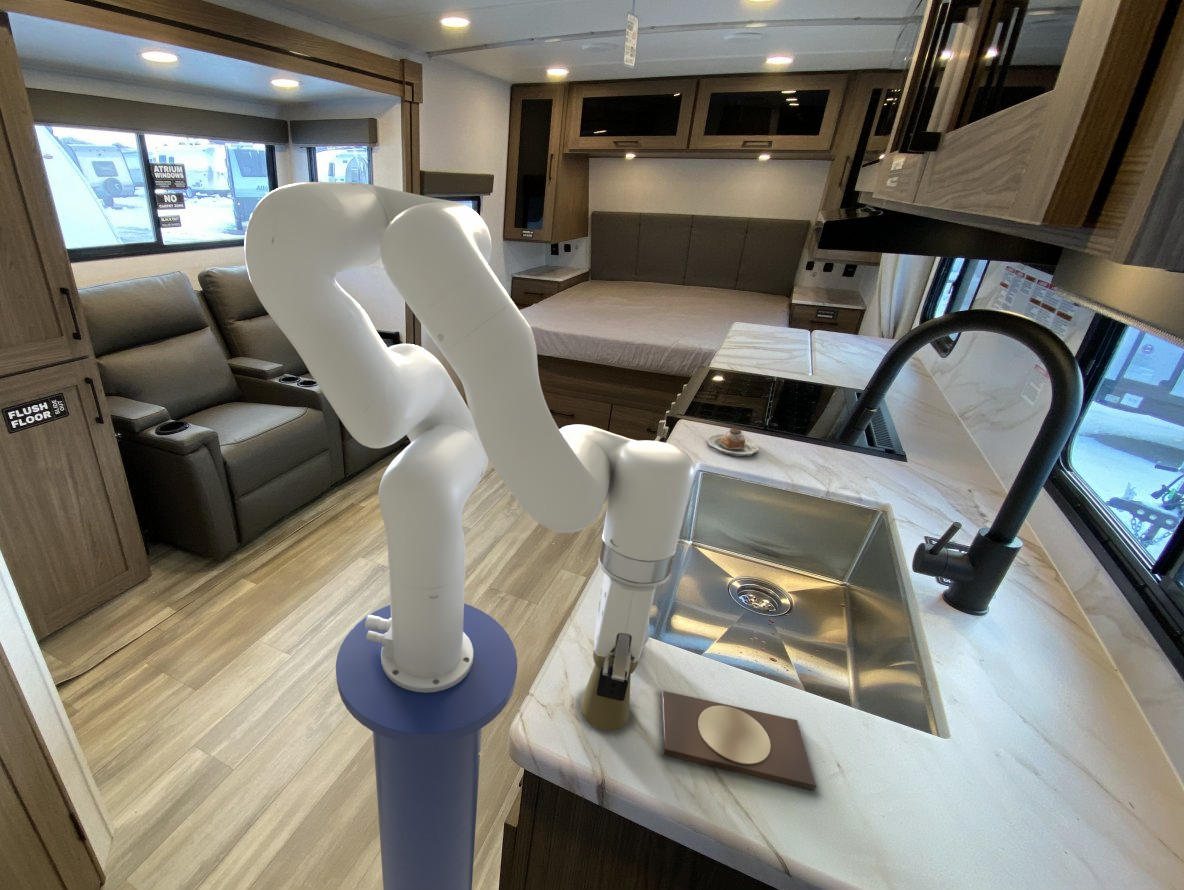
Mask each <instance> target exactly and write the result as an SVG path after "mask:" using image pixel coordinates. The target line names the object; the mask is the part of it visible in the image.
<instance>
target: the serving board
mask: <svg viewBox="0 0 1184 890" xmlns="http://www.w3.org/2000/svg"><path fill="white" fill-rule="evenodd" d="M660 700H661V701H660V702H661V725H662V727H661V728H662V748H663V749H662V753H663V755H664V756H667V757H671V758H676V759H680V760H683V761H684V760H685V761H688V762H692V763H695V764H696V763H697V764H700V765H705V766H707V767H708V766H709V767H713V768H716V769H721V770H725V771H730V772H733V773H736V774H737V773H738V774H741V775H745V776H750V777H754V778H758V779H762V780H766V781H770V782H774V783H778V784H782V785H787V786H790V787H794V788H799V789H802V790H807V791H812V792H815V790H816V788H817V786H818V785H817V782H816V778H815V776H814V772H813V769H812V765H811V761H810V758H809V756H808V751H807V748H806V745H805V742H804V739H803V735H802V731H801V728H800V724H799V720H798V719H793V718H789V717H786V716H780V715H776V714H772V713H767V712H762V711H758V710H754V709H749V708H744V707H739V706H736V705H730V704H726V703H722V702H716V701H711V700H708V699H704V698H700V697H699V698H698V697H696V696H695V697H693V696H689V695H684V694H680V693H677V692H671V691H667V690H662V691H661V695H660Z"/></svg>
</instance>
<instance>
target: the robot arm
mask: <svg viewBox="0 0 1184 890" xmlns="http://www.w3.org/2000/svg"><path fill="white" fill-rule="evenodd" d="M244 237H245V238H244V258H245V266H246V270H247V274H248V277H249V280H250V283H251V286H252V289H253V290H254V292H255V294H256V296H257V298H258V300H259V302H260V303H261V304H262V306H263V308H264V309H265V311H266V312H267V313H268V315H269V316H270V318H271V319H272V320H273V322H274V323H275V324H276V325H277V327H278V328H279V330H280V331H281V332H282V333H283V335H284V336H285V337H286V338H287V340H288V341H289V343H290V344H291V345H292V346H293V348H294V349H295V350H296V352H297V353H298V355H299V357H300V358H301V360H302V361H303V364H304V365H305V367H306V368H307V370H308V372H309V373H310V375H311V377H312V378H313V379H314V381H315V382H316V384H317V386H318V388H319V389H320V390H321V392H322V394H323V395H324V396H325V398H326V400H327V402H328V403H329V404H330V406H331V407H332V409H333V410H334V412H335V414H336V415H337V416H338V419H339V420H340V421H341V423H342V425H343V426H344V427H345V429H346V431H348V433H349V434H350V436H351V437H352V438H353V439H354V440H355V441H356V442H358V443H359V444H361V445H362V446H364V447H367V448H370V449H384V448H386V447H389V446H391V445H394V444H395V443H397V442H399V441H400V440H401V439H403V438H405V436H406V437H407V438H408V439H409V441H410V443H409V444H408V445H407V446H406V447H404V449H403V450H402V451H401V452H400V453H399V454H397V456H396V457H395V458H394V459H393V460H392V461H391V462H390V464H389V465H388V467H387V468H386V469H385V471H384V473H383V474H382V477H381V480H380V483H379V486H378V487H379V488H378V495H377V496H378V505H379V510H380V514H381V517H382V521H383V525H384V529H385V535H386V545H387V560H388V561H387V564H388V565H387V566H388V578H389V579H388V580H389V581H388V583H389V605H390V608H391V618H389V620H387V619H383V618H381V617H377V616H373V615H370V614H368V615H366V616H367V618H366V622H365V628H366V629H371V630H375V631H378V630H379V631H384V632H386V633H385V634H380V633H378V632H374V631H368V633H367V636H366V640H367V641H371V642H378V643H382V649H381V664H382V667H383V670H384V672H385V674H386V675H387V677H388V678H389V679H390V680H391V681H392V682H394V683H395V684H397V685H398V686H400V687H402V688H404V689H407V690H410V691H415V692H424V693H428V692H437V691H442V690H445V689H448V688H450V687H452V686H454V685H456V684H457V683H459V682H460V681H461V680H462V679H464V678H465V677H466V675H467V674H468V673H469V671H470V669H471V667H472V664H473V646H472V643H471V641H470V639H469V638H468V637H467V635H466V634H465V633H464V632H463V617H464V604H465V589H466V588H465V587H466V585H465V584H466V582H465V581H466V539H465V534H464V529H463V525H462V523H463V522H462V517H463V511H464V508H465V505H466V504H467V502H468V500H469V499H470V497H472V494H473V492H474V490H475V489H476V488H477V486H478V485H479V483H480V482H481V480H482V478H483V477H484V475H485V473H486V471H487V469H488V467H489V462H490V464H491V466H492V468H493V469H494V471H495V473H497V475H498V477H499V478H500V479H501V481H502V482H503V484H504V485H505V486H506V488H507V489H508V491H509V492H510V493H511V494H512V496H513V497H514V499H515V500H516V502H517V503H518V504H519V505H520V507H521V508H522V509H523V510H524V512H525V513H526V514H527V515H528V516H530V517H531V518H532V520H534V521H535V522H536V523H538V524H539V525H540V526H542V527H543V528H546V529H548V530H550V531H553V532H556V533H561V534H571V533H577V532H580V531H583V530H585V529H586V528H588V527H590V526H591V525H592V524H593V523H594V522H595V521H596V520H597V519H598V518H599V516H600V514H601V513H602V511H603V508H604V505H605V502H607V504H606V511H605V512H606V513H605V518H604V524H603V530H602V536H601V543H600V547H599V555H598V559H597V561H598V565H599V568H600V569H601V571H602V572H603V573H604V574H603V579H602V584H601V589H600V594H599V595H600V596H599V600H598V604H597V611H596V619H595V620H596V621H595V630H594V641H593V651H595V653H596V654H597V655H598V656H603V657H605V661H604V667H603V668H602V667H601V669H600V674H599V680H598V685H597V691H596V694H597V695H598V696H601V697H605V698H610V699H614V700H619V701H623V700H624V699H625V694H626V690H627V685H628V681H629V670H630V664H631V661H632V662H633V663H635V662H637V661H638V662H639V660H640V658H641V656H642V655H641V654H642V650H643V648H644V646H643V644H644V640H645V635H646V631H647V627H648V622H649V623H650V618H651V613H652V608H653V604H654V600H655V594H656V589H657V587H658V586H661V585H663V584H665V583H666V582H667V581H668V580H669V578H670V576H671V573H672V568H673V563H674V561H675V556H676V551H677V548H678V542H679V539H680V534H681V531H682V526H683V523H684V518H685V513H686V510H687V506H688V501H689V497H690V493H691V490H692V485H693V480H694V475H695V463H694V460H693V459H692V457H691V456H690V455H689V453H687V451H685V450H684V449H682V448H681V447H679V446H676V445H674V444H671V443H668V442H664V441H658V440H648V439H647V440H637V439H632V438H628V437H627V436H626V437H625V436H623V435H619V434H616V433H614V432H611V431H607V430H605V429H602V428H598V427H596V426H592V425H589V424H588V425H587V424H582V423H581V424H577V423H575V424H570V425H565V426H562V427H561V428H559V426H558V424H557V423H556V421H555V419H554V418H553V415H552V413H551V411H550V409H549V406H548V405H547V402H546V399H545V395H544V393H543V389H542V385H541V381H540V375H539V366H538V365H539V364H538V363H539V361H538V350H537V343H536V340H535V336H534V335H535V334H534V332H533V329H532V328H531V326H530V324H529V322H528V321H527V320H526V318H525V317H524V316H523V314H522V312H521V311H520V309H519V307H518V306H517V305H516V304H515V302H514V301H513V300H512V298H511V297H510V295H509V293H508V292H507V290H506V289H505V288H504V286H503V285H502V283H501V282H500V280H499V279H498V277H497V275H496V274H495V273H494V271H493V269H492V268H491V267H490V265H489V263H490V262H491V258H492V247H493V245H492V244H493V243H492V238H491V234H490V231H489V227H488V225H487V224H486V223H485V220H484V219H483V218H482V217H481V216H480V215H479V213H478V212H477V211H475V210H474V209H473V208H471V206H468V205H466V204H464V203H462V202H458V201H453V200H447V199H443V198H442V199H441V198H436V197H431V196H426V195H421V194H417V193H411V192H407V191H402V190H397V189H392V188H388V187H384V186H383V187H382V186H380V185H373V184H369V183H363V182H362V183H361V182H352V181H351V182H338V181H337V182H329V181H327V182H326V181H303V182H302V181H301V182H295V183H289V184H286V185H283V186H280V187H278V188H275V189H274V190H271V191H270V192H268V193H267V194H266V195H265V196H264V197H262V198H261V199H260V200H259V201H258V203H257V204H256V205H255V207H254V208H253V211H252V213H251V214H250V217H249V218H248V222H247V225H246V229H245V236H244ZM361 267H372V268H377V269H381V270H385V273H386V275H387V276H388V278H389V280H390V282H391V283H392V285H393V286H394V287H395V289H396V290H397V292H398V293H399V295H400V296H401V297H402V299H403V300H404V302H405V303H406V304H407V306H408V307H409V309H410V310H411V312H412V313H413V314H414V316H415V317H416V318H417V320H418V321H419V323H420V324H421V325H422V327H423V328H424V330H425V331H426V333H427V334H428V335H429V337H430V338H431V340H432V341H433V343H434V344H435V345H436V347H437V348H438V349H439V351H440V352H441V354H442V355H443V356H444V358H445V360H446V362H448V364H449V366H451V368H452V369H453V371H454V372H455V374H456V375H457V377H458V378H459V380H460V382H461V383H462V386H463V390H464V394H465V399H466V402H465V400H464V398H463V396H462V395H461V393H460V391H459V389H458V388H457V386H456V384H455V382H454V381H453V379H452V378H451V375H450V374H449V373H448V371H447V369H446V367H444V365H443V363H442V362H440V360H439V359H438V358H437V357H436V356H435V355H434V354H433V353H431V352H429V351H428V350H427V349H425V348H424V347H421V346H419V345H417V344H416V345H415V344H411V343H399V344H394V345H390V346H387V344H386V343H385V342H384V340H383V339H382V337H381V336H380V334H379V333H378V331H377V329H376V328H375V325H374V323H373V322H372V321H371V320H372V319H371V318H370V317H369V315H368V314H367V313H366V311H365V310H364V308H362V306H361V305H360V304H359V302H357V301H356V300H355V299H354V298H353V297H352V296H351V295H350V294H349V293H348V292H346V291H345V290H344V289H343V288H342V287H341V286H340V284H339V283H338V281H337V280H336V275H337V273H341V272H346V271H349V270H353V269H354V270H355V269H357V268H361ZM466 403H467V404H466ZM615 646H616V648H614V647H615ZM628 648H629V649H628ZM610 657H615V658H614V665H613V666H612V665H609V664H610Z"/></svg>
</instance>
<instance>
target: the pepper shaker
mask: <svg viewBox="0 0 1184 890" xmlns="http://www.w3.org/2000/svg"><path fill="white" fill-rule="evenodd" d="M614 648H616V646H615V647H614ZM628 649H629V648H628ZM614 658H615V657H610V664H609V665H612V666H613V665H614ZM592 659H593V662H594V666H593V669H592V671H591V673H590V677H589V679H588V682H587V684H586V687H585V690H584V692H583V695H582V697H581V700H580V706H579V707H580V713H581V715H582V716H583V718H584V719H585V720H586V721H587V722H588V723H589V724H590V725H591V726H593V727H595V728H596V729H600V730H603V731H618V730H620V729H623V727H625V726H626V725H627V723H628V721H629V720H630V719H629V718H630V701H631V700H630V699H631V697H630V695H631V676H632V674H633V673H634V672H635V670H636V668H637V667H638V664H639V660H638V661H637V662H635V663H633V662H632V661H631V664H630V670H629V681H628V685H627V690H626V694H625V699H624V700H623V701H619V700H614V699H610V698H605V697H601V696H598V695H597V694H596V691H597V685H598V680H599V674H600V669H601V667H602V668H603V667H604V661H605V657H603V656H598V655H597V654H596V653H595V651H594V650H593V652H592Z"/></svg>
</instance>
